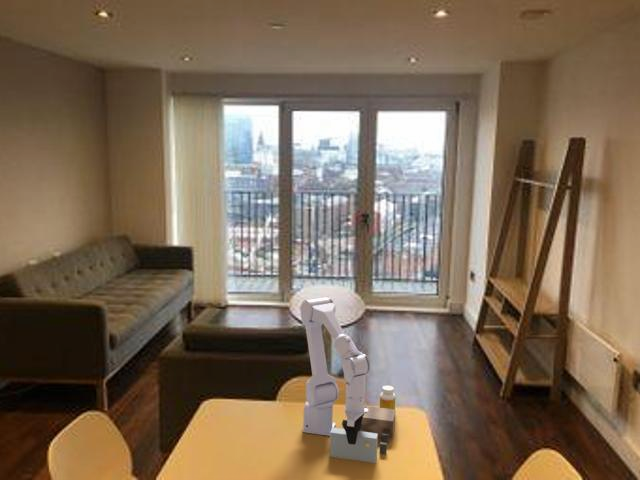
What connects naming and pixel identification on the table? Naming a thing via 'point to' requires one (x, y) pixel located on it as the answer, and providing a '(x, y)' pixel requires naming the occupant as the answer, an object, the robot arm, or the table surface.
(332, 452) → the door panel
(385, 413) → the cabinet
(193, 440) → the table surface
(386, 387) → the supplement bottle
